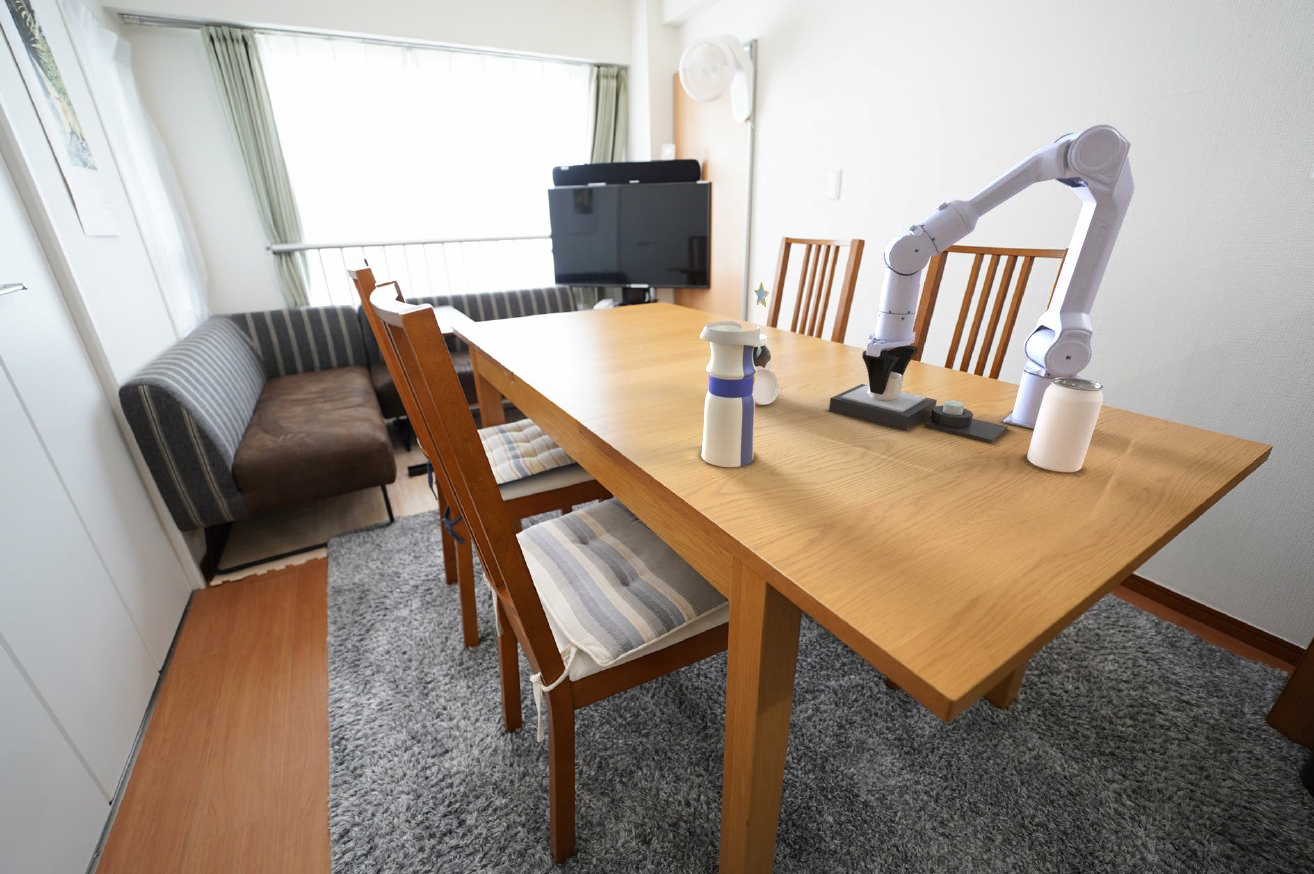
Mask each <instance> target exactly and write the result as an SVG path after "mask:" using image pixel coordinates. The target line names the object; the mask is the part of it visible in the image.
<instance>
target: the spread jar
mask: <svg viewBox="0 0 1314 874" xmlns="http://www.w3.org/2000/svg"><path fill="white" fill-rule="evenodd" d="M767 337H768V336H767V335H765V334H763V333H760V349H759V348H758V347H757V346H754V349H753V362H754V366H755V367H756V369H757V371H756V373H755V383H754V385H753V395H754V399H755V405H758V406H763V405H765V406H766V405H770V404H772V403H773V402H774V401H775V400H776V399H777V397H778V394H779V390H780V383H779V379H778V377H777V375H776V374H775V372H774V371H773V370H772V369H771V368H772V354H771V351H770V349H769V347H768V346H767V341H768V339H767Z"/></svg>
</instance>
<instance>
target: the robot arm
mask: <svg viewBox="0 0 1314 874" xmlns="http://www.w3.org/2000/svg"><path fill="white" fill-rule="evenodd" d="M1131 146H1132V143H1131V142H1130V141H1129V139H1127V137H1126V136H1125V135H1123V133H1122V132H1121V131H1120V130H1119V129H1118V128H1117V127H1115V126H1113V125H1109V124H1096V125H1092V126H1091V127H1088V128H1086V129H1084V130H1080V131H1076V132H1069V133H1066V134H1063V135H1061V136H1059V137H1057V138H1056V139H1055V140H1054V141H1053V142H1052V143H1050V144H1049V143H1048V144H1046V145H1044V146H1042V147H1041V148H1039V149H1037V150H1035V151H1034V152H1032V153H1031V154H1028V155H1027V156H1026V157H1024V158H1023V159H1022V160H1021V161H1019V162H1017V163H1016V164H1014V165H1013V166H1011V168H1009V169H1008V170H1006V171H1005V172H1004V173H1002V174H1001V175H1000V176H998V177H997V178H996V179H994V180H992V181H991V182H990V183H989V184H987V185H986V186H985V187H983V188H982V189H981V190H979V191H977V192H976V193H975V194H973V195H972V196H971V197H969V199H967V200H960V199H953V200H951V201H949V202H946V201H943V202H941V203H940V204H938V205H936V207H935V209H936V210H937V211H935V212H933V213H932V214H930V215H929V216H928V217H926V218H925V219H923V220H922V221H921V222H919V223H918V224H916V225H915V224H911V225H910V226H908V227H907V231H908V234H903V235H899V236H897V237H895V238H893V239H892V240H891V241H889V243H888V245H887V247H886V248H885V251H884V252H883V261H884V263H885V265H886V267H885V271H884V275H883V277H884V278H883V279H884V280H883V282H882V285H881V290H880V291H881V292H880V299H879V304H878V305H879V306H878V313H877V320H876V325H875V326H876V327H875V333H871V334H868V336H867V339H868V340H871V341H870V342H868V343H866V350H864V351H862V354H861V357H862V359H863V362H864V364H865V367H866V370H867V375H868V385H870V392H872V393H876V394H880V395H882V394H883V393H884V391H885V389H886V386H887V382H888V379H889V375H890V373H891V372H896V373H899V374H901V375H903V376H904V375H905V372H906V370H907V368H908V366H909V364H910V362H911V360H913V358H914V356H915V355H916V354H917V353H918V350H919V347H918V346H916V345H915V346H914V345H911V344H914V343H915V341H916V334H917V332H916V331H913V329H914V323H915V318H916V312H917V305H918V299H919V294H920V289H921V276H922V272H923V270H924V269H925V268H926V266H927V265H928V263H929V261H930V259H931V257H936V256H938V255H939V254H941V253H943V252H944V251H946V250H947V249H948V248H950V247H952V246H953V245H955V244H956V243H957V242H959V241H960V240H962V239H964V238H965V237H967V236H968V235H970V234H972V233H973V232H974V231H975V229H976V225H977V223H978V220H979V219H980V218H981V217H982V216H984V215H985V214H987V213H989V212H990V211H992V210H993V209H995V208H997V207H999V206H1000V205H1001V204H1003V203H1004V202H1006V201H1008V200H1010V199H1011V198H1012V197H1014V196H1015V195H1017V194H1019V193H1021V192H1023V191H1024V190H1025V189H1027V188H1029V187H1031V186H1032V185H1034V184H1036V183H1042V182H1046V181H1051V180H1054V181H1057V182H1059V183H1061V184H1062V185H1065V186H1067V187H1069V188H1070V189H1071V191H1072V192H1074V194H1075V195H1076V196H1077V197H1078V198H1079V200H1080V201H1081V202H1082V207H1081V211H1080V212H1079V216H1078V220H1077V222H1076V226H1075V229H1074V232H1073V234H1072V238H1071V241H1070V243H1069V247H1068V249H1067V253H1066V256H1065V259H1064V262H1063V265H1062V268H1061V270H1060V274H1059V277H1058V280H1057V283H1056V286H1055V289H1054V292H1053V295H1052V298H1051V300H1050V304H1049V307H1048V309H1047V310H1046V311H1045V312H1044V313H1043V314H1042V315H1041V316H1040V317H1039V318H1038V319H1037V324H1036V326H1035V327H1034V329H1033V330H1032V331H1031V332H1030V333H1029V334H1028V335H1027V337H1026V338H1025V340H1024V343H1023V352H1024V355H1025V356H1026V358H1027V362H1026V363H1025V365H1024V368H1023V371H1022V375H1021V378H1020V383H1019V387H1018V390H1017V395H1016V399H1015V401H1014V402H1015V403H1014V406H1013V411H1012V412H1011V413H1010V414H1009V415H1007V416H1006V417H1005V418H1004V419H1003V423H1004V424H1009V425H1014V426H1018V427H1023V428H1027V429H1031V430H1034V428H1035V425H1036V421H1037V418H1038V414H1039V410H1040V407H1041V403H1042V400H1043V396H1044V393H1045V390H1046V389H1047V388H1048V387H1049V386H1050V384H1051V383H1052V379H1054V378H1077V379H1084V380H1089V381H1093V380H1092V378H1091V379H1090V378H1086V377H1082V376H1079V375H1078V374H1079V373H1081V372H1082V371H1083V370H1084V369H1086V368H1087V366H1088V365H1089V363H1090V361H1091V359H1092V355H1093V351H1092V347H1091V341H1092V337H1093V334H1094V329H1093V325H1092V322H1091V318H1090V315H1091V311H1092V308H1093V306H1094V303H1095V300H1096V297H1097V295H1098V292H1099V289H1100V286H1101V283H1102V280H1103V278H1104V275H1105V273H1106V270H1107V267H1108V264H1109V261H1110V259H1111V256H1112V253H1113V251H1114V247H1115V246H1116V242H1117V239H1118V237H1119V234H1120V231H1121V228H1122V226H1123V223H1124V220H1125V217H1126V215H1127V212H1128V209H1129V206H1130V204H1131V201H1132V199H1133V195H1134V192H1135V183H1134V178H1133V173H1132V168H1131V164H1130V158H1129V153H1130V149H1131Z"/></svg>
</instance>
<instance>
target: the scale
mask: <svg viewBox="0 0 1314 874" xmlns="http://www.w3.org/2000/svg"><path fill="white" fill-rule="evenodd" d="M868 386H869V384H865V383H861V384H858V385H856V386H854V387H852V388H849V389H848V390H845V391H842V392H841V393H838V394H836V395H833V396H832V397H829V398H830V400H829V407H828V412H830V413H835V414H838V415H843V416H846V417H851V418H855V419H857V420H863V421H867V422H870V423H874V424H877V425H882V426H885V427H889V428H892V429H893V428H894V429H897V430H901V431H905V432H907V431H909V430H910V429H912V428H913V427H915V426H917V425H918V424H920V423H921V422H923V421H925V420H926V419H927V418H930V417H931V414H932V409H933V408H934V407H936V406H937V403H938V400H937V399H935V398H930V397H927V396H922V395H918V394H913V393H909V392H904V391H901V394H900V397H898V398H897V399H896V400H893V401H882V400H877V399H873V398H871V397H870V396H869V394H868Z"/></svg>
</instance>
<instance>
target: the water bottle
mask: <svg viewBox="0 0 1314 874" xmlns="http://www.w3.org/2000/svg"><path fill="white" fill-rule="evenodd" d="M753 291H754V293H755V295H756V297H757V299H756V306H759V305H760V304H761V305H762V306H763V307H764V308H766V307H767V302H766V297H767V296H768V295H769V293H770V292H769V291H768V290H766V289H765V286H764V283H763V281H760V284H759V288H756V289H754V290H753ZM760 334H761V326H760V325H759V326H757V328H756V329H753V330H745V331H742V324H740V323H739V322H737V321H733V320H731V321H730V320H724V321H715V322H710V323H707V324H705V325H704V327H703V330H702V331H701V333H700V335H699V338H700V339H701V340H703V341H705V342H708V343H709V345H710V353H711V355H710V361H709V363H708V364H707V366H706V369H705V371H706V372H707V373H708V390H707V392H706V395H705V400H704V415H703V434H702V445H701V458H702V460H703V461H704V462H706V463H707V464H710V465H713V466H716V467H722V468H740V467H743V466H747V465H749V464H750V463H752V462H753V461H754V445H755V444H754V440H755V439H754V436H755V434H754V432H755V414H756V413H755V412H756V411H755V410H756V404H755V399H754V395H753V385H754V383H755V373H756V371H757V369H756V367H755V366H754V362H753V349H754V346H757V347H758V348H759V349H760Z"/></svg>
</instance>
